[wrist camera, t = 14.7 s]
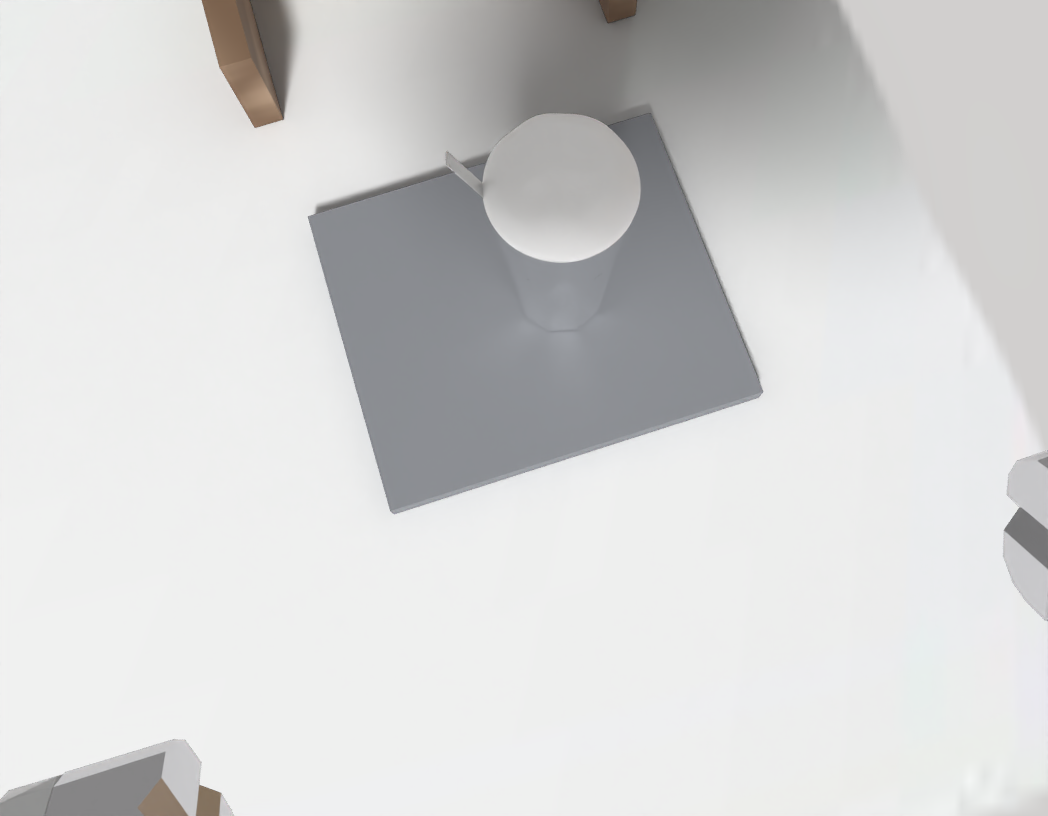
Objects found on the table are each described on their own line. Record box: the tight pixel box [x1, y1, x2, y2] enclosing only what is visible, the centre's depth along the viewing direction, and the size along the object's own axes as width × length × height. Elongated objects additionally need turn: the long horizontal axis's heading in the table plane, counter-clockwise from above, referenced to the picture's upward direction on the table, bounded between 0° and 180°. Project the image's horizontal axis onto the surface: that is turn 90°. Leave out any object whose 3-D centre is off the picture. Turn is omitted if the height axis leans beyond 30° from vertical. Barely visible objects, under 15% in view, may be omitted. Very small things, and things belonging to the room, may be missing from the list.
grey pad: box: [308, 113, 763, 514], centre depth 34 cm, size 14×12×1 cm
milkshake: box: [446, 113, 641, 332], centre depth 29 cm, size 5×5×10 cm
